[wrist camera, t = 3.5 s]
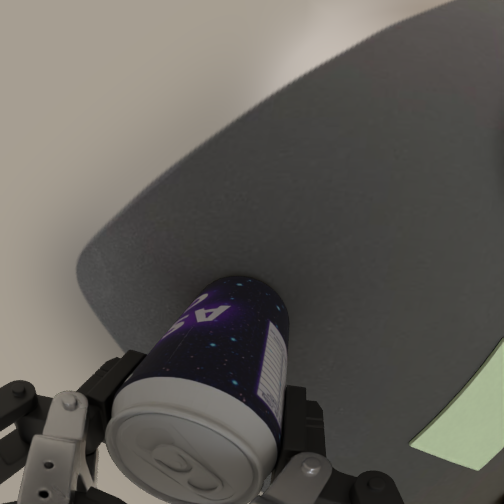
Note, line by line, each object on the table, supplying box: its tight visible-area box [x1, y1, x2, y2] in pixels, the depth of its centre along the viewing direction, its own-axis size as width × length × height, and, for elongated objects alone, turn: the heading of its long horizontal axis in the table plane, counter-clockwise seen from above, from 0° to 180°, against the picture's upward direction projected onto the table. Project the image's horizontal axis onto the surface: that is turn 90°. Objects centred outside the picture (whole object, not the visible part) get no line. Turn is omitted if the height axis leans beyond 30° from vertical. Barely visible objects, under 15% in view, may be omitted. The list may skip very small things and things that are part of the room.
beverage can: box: [105, 276, 289, 504], centre depth 13 cm, size 6×6×12 cm
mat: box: [409, 338, 504, 471], centre depth 18 cm, size 12×11×1 cm
